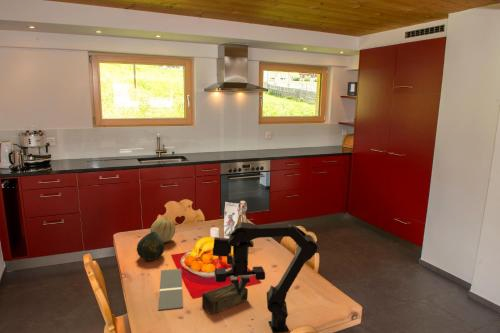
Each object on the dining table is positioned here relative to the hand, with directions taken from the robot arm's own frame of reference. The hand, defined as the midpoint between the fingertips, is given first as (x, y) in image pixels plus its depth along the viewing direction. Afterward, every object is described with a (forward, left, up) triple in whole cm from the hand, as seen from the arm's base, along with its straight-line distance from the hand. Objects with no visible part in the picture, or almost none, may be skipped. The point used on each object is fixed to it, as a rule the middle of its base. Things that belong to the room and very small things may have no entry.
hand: (238, 294), depth 130 cm
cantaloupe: (+87, +31, -13) cm, 94 cm away
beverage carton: (+16, +3, -14) cm, 21 cm away
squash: (+66, +37, -14) cm, 77 cm away
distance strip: (+32, +26, -13) cm, 43 cm away
